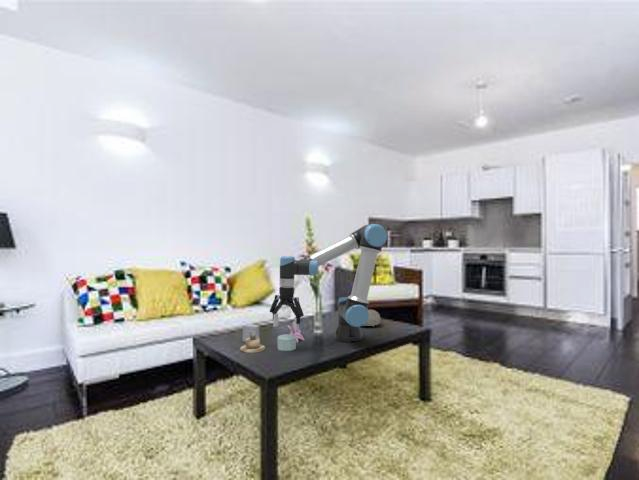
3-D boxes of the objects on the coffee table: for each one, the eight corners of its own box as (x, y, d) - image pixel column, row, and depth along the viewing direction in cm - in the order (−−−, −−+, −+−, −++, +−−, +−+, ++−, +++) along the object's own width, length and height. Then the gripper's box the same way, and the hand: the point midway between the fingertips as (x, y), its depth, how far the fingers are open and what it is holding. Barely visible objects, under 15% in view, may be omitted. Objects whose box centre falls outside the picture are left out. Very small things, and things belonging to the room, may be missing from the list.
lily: (285, 346, 194) (294, 331, 193) (276, 333, 203) (284, 319, 202) (302, 349, 202) (311, 335, 200) (293, 336, 211) (301, 322, 209)
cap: (299, 347, 189) (299, 335, 189) (288, 351, 182) (288, 339, 182) (285, 344, 194) (285, 333, 194) (274, 348, 186) (274, 337, 186)
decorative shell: (353, 328, 231) (353, 312, 231) (352, 322, 248) (352, 307, 248) (382, 328, 230) (382, 312, 230) (378, 322, 248) (378, 307, 248)
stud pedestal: (269, 348, 187) (269, 330, 187) (253, 354, 177) (253, 335, 177) (252, 344, 194) (252, 327, 194) (235, 350, 184) (235, 332, 184)
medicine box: (259, 341, 201) (259, 325, 201) (255, 343, 197) (255, 326, 197) (246, 339, 203) (246, 324, 203) (242, 342, 199) (242, 325, 199)
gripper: (263, 285, 192) (262, 326, 191) (302, 289, 178) (301, 333, 178) (272, 284, 198) (272, 323, 198) (311, 288, 184) (310, 330, 184)
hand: (285, 328), depth 188 cm, fingers open, 13 cm apart
